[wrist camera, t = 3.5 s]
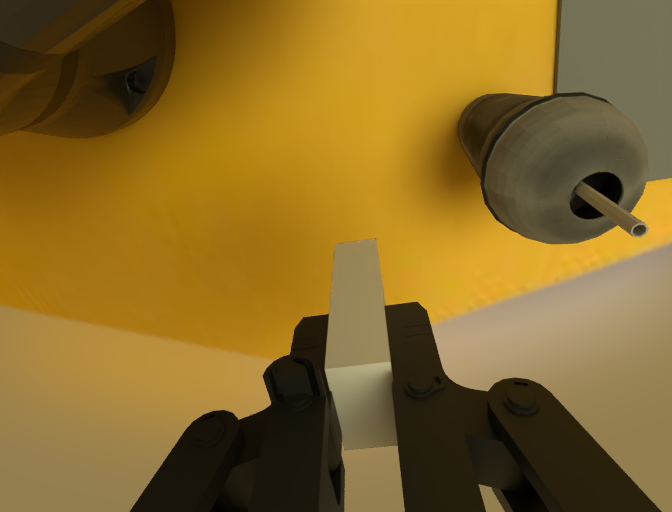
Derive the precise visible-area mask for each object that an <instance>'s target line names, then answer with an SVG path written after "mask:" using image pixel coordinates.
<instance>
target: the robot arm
mask: <svg viewBox="0 0 672 512" xmlns="http://www.w3.org/2000/svg"><path fill="white" fill-rule="evenodd" d="M174 54H175V26H174V18H173V13H172V8H171V4H170V0H0V136H2V135H5V134H9V133H11V132H14V131H18V130H21V131H27V132H33V133H40V134H46V135H52V136H58V137H66V138H87V137H95V136H100V135H104V134H107V133H110V132H113V131H115V130H118V129H120V128H123V127H125V126H128V125H130V124H132V123H133V122H135V121H137V120H138V119H140V118H141V117H142V116H144V115H145V114H146V113H147V112H148V111H149V110H150V109H151V108H152V107H153V106H154V105H155V103H156V102H157V101H158V99H159V98H160V96H161V95H162V93H163V91H164V89H165V87H166V85H167V82H168V80H169V77H170V74H171V70H172V66H173V61H174ZM263 379H264V381H265V385H266V388H267V391H268V394H269V397H270V400H271V405H270V406H269V407H267V408H266V409H264V410H262V411H260V412H258V413H256V414H253V415H251V416H248V417H245V418H242V419H240V420H238V418H237V417H236V416H235V415H234V414H233V413H232V412H228V411H225V410H220V411H212V412H209V413H207V414H204V415H202V416H201V417H199V418H198V419H196V420H195V421H193V422H192V423H191V425H190V426H189V427H188V428H187V429H186V430H185V431H184V433H183V434H182V436H181V437H180V439H179V440H178V442H177V443H176V445H175V446H174V448H173V449H172V450H171V452H170V453H169V455H168V456H167V458H166V459H165V461H164V462H163V464H162V465H161V467H160V468H159V470H158V471H157V472H156V474H155V475H154V477H153V478H152V480H151V481H150V483H149V484H148V486H147V487H146V488H145V490H144V491H143V493H142V494H141V496H140V497H139V499H138V501H137V502H136V503H135V505H134V506H133V508H132V509H131V510H130V512H344V488H345V482H344V481H345V469H344V464H343V460H342V456H341V449H342V442H343V446H344V450H353V449H364V448H374V447H385V446H397V445H398V452H399V461H400V470H401V479H402V488H403V497H404V507H405V512H486V510H485V506H484V503H483V499H482V496H481V492H480V488H479V485H478V484H480V485H485V486H489V487H492V490H493V492H494V494H495V495H496V497H497V499H498V500H499V502H500V504H501V505H502V507H503V509H504V511H505V512H661V511H660V509H659V508H657V506H656V505H655V504H654V503H653V502H652V501H651V500H650V499H649V498H648V497H647V496H646V494H645V493H644V492H643V491H642V490H641V489H640V488H639V487H638V486H637V485H636V484H635V483H634V482H633V481H632V479H631V478H630V477H629V476H628V475H627V474H626V473H625V472H624V471H623V470H622V469H621V468H620V466H619V465H618V464H617V463H616V462H615V461H614V460H613V459H612V458H611V457H610V456H609V455H608V454H607V453H606V451H605V450H604V449H603V448H602V447H601V446H600V445H599V444H598V443H597V442H596V441H595V440H594V439H593V437H592V436H591V435H590V434H589V433H588V432H587V431H586V430H585V429H584V428H583V427H582V426H581V425H580V424H579V422H577V420H576V419H575V418H574V417H573V416H572V415H571V414H570V413H569V412H568V411H567V410H566V409H565V407H564V406H563V405H562V404H561V403H560V402H559V401H558V400H557V399H556V398H555V397H554V396H553V394H552V393H551V392H550V391H548V390H547V389H546V388H544V387H543V386H542V385H541V384H539V383H536V382H534V381H531V380H529V379H522V378H509V379H503V380H501V381H499V382H497V383H495V384H494V385H493V386H492V387H491V389H490V390H489V391H480V390H474V389H470V388H465V387H463V386H460V385H458V384H456V383H455V382H453V381H452V380H450V379H449V378H448V376H447V375H446V374H445V372H444V370H443V368H442V364H441V361H440V358H439V354H438V350H437V346H436V343H435V339H434V335H433V332H432V328H431V324H430V321H429V317H428V313H427V310H425V309H424V308H423V307H422V306H421V305H420V304H419V303H418V302H411V303H403V304H396V305H388V306H386V305H385V297H384V291H383V284H382V277H381V270H380V264H379V257H378V250H377V243H376V238H375V239H368V240H361V241H354V242H347V243H340V244H335V249H334V261H333V273H332V285H331V297H330V310H329V314H326V315H318V316H310V317H303V319H302V320H301V321H300V322H299V324H298V325H297V326H296V328H295V330H294V335H293V342H292V346H291V352H290V355H287V356H283V357H281V358H279V359H277V360H276V361H274V362H273V363H272V364H271V365H270V366H269V367H268V368H267V369H266V371H265V372H264V374H263Z"/></svg>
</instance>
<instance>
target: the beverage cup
mask: <svg viewBox="0 0 672 512" xmlns="http://www.w3.org/2000/svg"><path fill="white" fill-rule="evenodd" d="M458 135H459V139H460V142H461V144H462V148H463V150H464V151H465V153H466V155H467V157H468V158H469V160H470V162H471V164H472V166H473V167H474V169H475V171H476V173H477V174H478V176H479V178H480V180H481V182H480V185H481V189H482V193H483V197H484V201H485V204H486V206H487V207H488V209H489V210H490V212H491V213H492V215H493V216H494V217H495V219H496V220H497V221H499V222H500V223H501V224H503V225H504V226H506V227H507V228H509V229H510V230H512V231H514V232H516V233H518V234H520V235H521V236H523V237H525V238H528V239H532V240H536V241H539V242H543V243H547V244H574V243H579V242H583V241H586V240H589V239H593V238H596V237H598V236H600V235H602V234H604V233H605V232H607V231H609V230H610V229H612V228H614V227H616V226H617V225H618V226H620V227H621V228H622V229H624V230H625V231H626V232H628V233H629V234H630V235H632V236H633V237H639V238H640V237H642V236H644V235H645V234H647V231H648V227H647V225H646V224H645V223H644V222H642V221H641V220H639V219H638V218H636V217H635V216H633V215H632V214H630V213H631V212H632V210H633V209H634V207H635V205H636V204H637V202H638V201H639V199H640V198H641V196H642V194H643V192H644V189H645V185H646V182H647V178H648V175H649V170H648V151H647V147H646V145H645V143H644V141H643V139H642V137H641V135H640V133H639V131H638V129H637V127H636V125H635V124H634V123H633V122H632V121H631V120H630V119H628V118H627V117H626V116H625V115H624V114H623V113H621V112H620V111H619V110H618V109H617V108H615V107H614V106H613V105H612V104H611V103H609V102H608V101H607V100H606V99H604V98H600V97H597V96H594V95H591V94H587V93H584V92H573V93H556V94H554V95H550V96H544V97H539V96H529V95H518V94H507V93H502V94H487V95H484V96H481V97H479V98H477V99H475V100H474V101H473V102H471V103H470V104H469V105H468V106H467V108H466V109H465V110H464V112H463V113H462V115H461V118H460V120H459V124H458Z"/></svg>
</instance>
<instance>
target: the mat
mask: <svg viewBox="0 0 672 512" xmlns="http://www.w3.org/2000/svg"><path fill="white" fill-rule="evenodd" d="M573 92H584V93H587V94H591V95H594V96H597V97H600V98H604V99H606V100H607V101H608V102H609V103H611V104H612V105H613V106H614V107H615V108H617V109H618V110H619V111H620V112H621V113H623V114H624V115H625V116H626V117H627V118H628V119H630V120H631V121H632V122H633V123H634V124H635V125H636V127H637V129H638V131H639V133H640V135H641V137H642V139H643V141H644V143H645V145H646V147H647V151H648V170H649V175H648V178H647V181H653V180H660V179H667V178H672V0H559V3H558V22H557V42H556V61H555V80H554V94H556V93H573Z"/></svg>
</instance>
